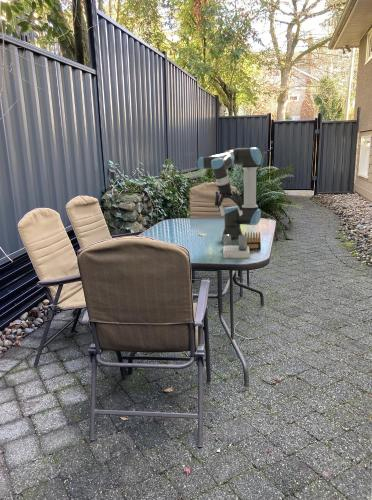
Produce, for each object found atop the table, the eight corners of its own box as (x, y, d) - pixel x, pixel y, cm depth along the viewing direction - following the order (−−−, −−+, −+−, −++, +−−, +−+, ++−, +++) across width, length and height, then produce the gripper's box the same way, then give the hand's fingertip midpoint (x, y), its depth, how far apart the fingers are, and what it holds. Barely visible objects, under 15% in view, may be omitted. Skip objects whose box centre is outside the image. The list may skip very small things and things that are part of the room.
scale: (223, 251, 251) (223, 245, 250) (248, 251, 248) (248, 245, 247) (222, 258, 235) (222, 251, 234) (249, 258, 232) (249, 251, 231)
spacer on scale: (238, 248, 239) (238, 234, 237) (246, 248, 239) (246, 234, 236) (238, 250, 234) (238, 236, 232) (247, 250, 234) (247, 236, 232)
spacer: (223, 247, 261) (223, 234, 259) (231, 247, 260) (231, 234, 258) (223, 249, 256) (223, 235, 254) (231, 249, 255) (230, 235, 253)
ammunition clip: (260, 249, 253) (260, 231, 250) (260, 249, 251) (261, 231, 248) (244, 249, 253) (244, 231, 250) (244, 250, 251) (244, 232, 248)
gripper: (203, 187, 239) (213, 217, 247) (237, 184, 222) (246, 217, 231) (210, 182, 244) (219, 212, 252) (243, 179, 227) (252, 212, 236)
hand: (232, 215), depth 242 cm, fingers open, 13 cm apart
